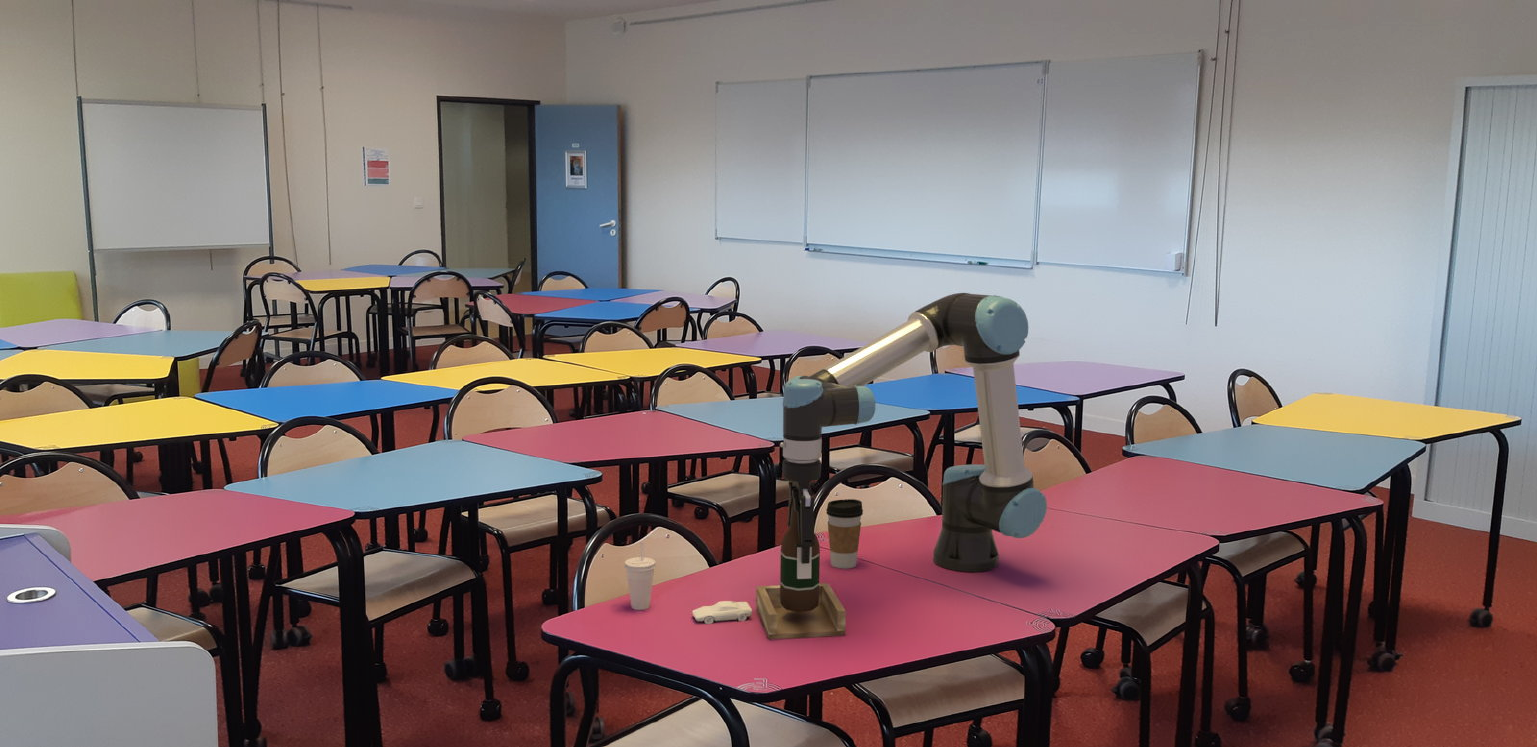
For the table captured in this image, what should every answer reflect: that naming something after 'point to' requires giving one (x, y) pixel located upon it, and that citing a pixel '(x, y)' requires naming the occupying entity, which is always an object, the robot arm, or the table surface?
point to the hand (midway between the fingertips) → (800, 571)
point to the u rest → (800, 615)
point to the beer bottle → (794, 590)
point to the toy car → (723, 612)
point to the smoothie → (640, 580)
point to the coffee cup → (844, 531)
